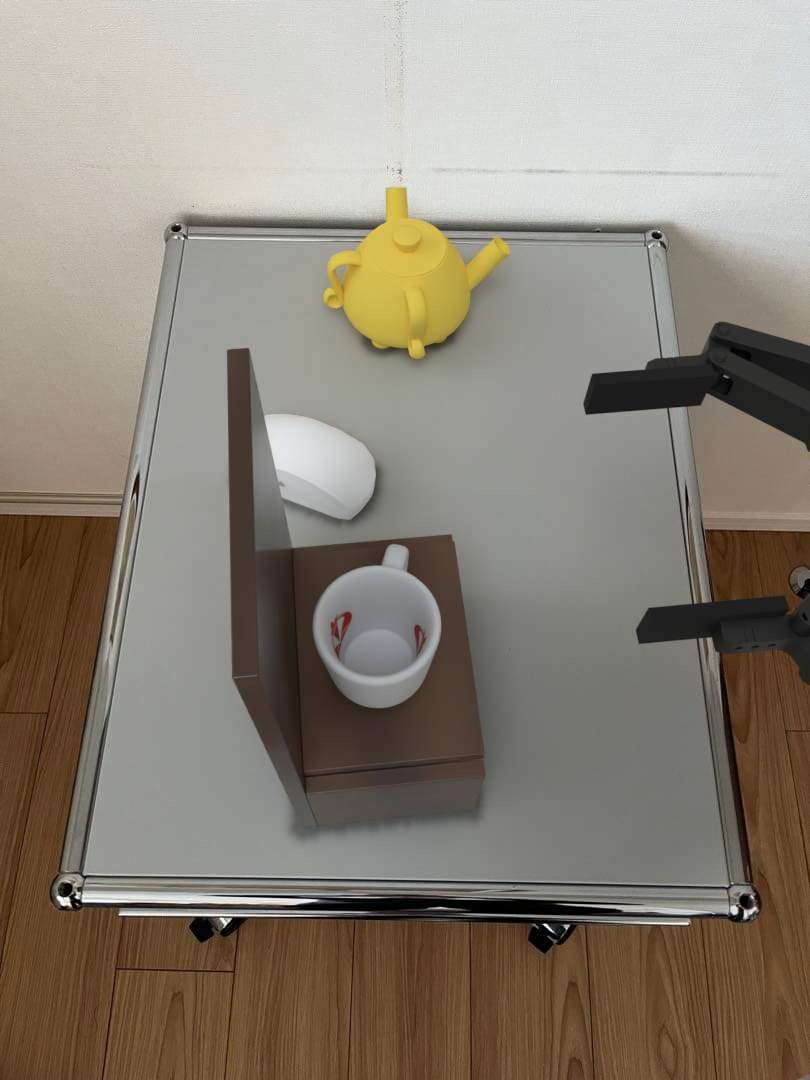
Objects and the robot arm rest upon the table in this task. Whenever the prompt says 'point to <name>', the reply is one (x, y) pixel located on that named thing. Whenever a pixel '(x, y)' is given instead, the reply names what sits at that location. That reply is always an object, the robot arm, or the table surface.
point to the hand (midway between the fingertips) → (613, 502)
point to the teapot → (407, 280)
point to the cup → (377, 631)
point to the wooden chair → (301, 676)
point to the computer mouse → (320, 465)
